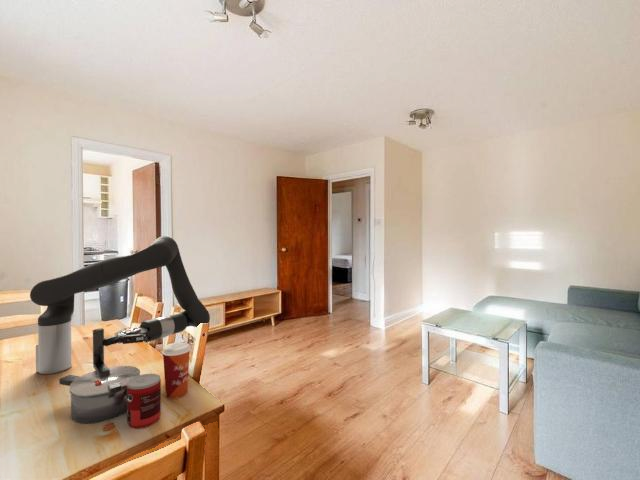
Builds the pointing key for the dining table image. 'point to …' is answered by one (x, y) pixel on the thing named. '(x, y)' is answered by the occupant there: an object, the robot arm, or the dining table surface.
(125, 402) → the pot
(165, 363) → the coffee cup
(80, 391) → the lid
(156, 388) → the canned food
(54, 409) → the dining table surface
